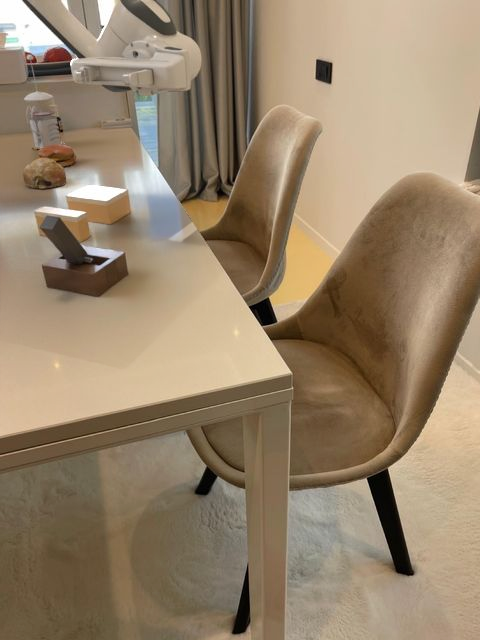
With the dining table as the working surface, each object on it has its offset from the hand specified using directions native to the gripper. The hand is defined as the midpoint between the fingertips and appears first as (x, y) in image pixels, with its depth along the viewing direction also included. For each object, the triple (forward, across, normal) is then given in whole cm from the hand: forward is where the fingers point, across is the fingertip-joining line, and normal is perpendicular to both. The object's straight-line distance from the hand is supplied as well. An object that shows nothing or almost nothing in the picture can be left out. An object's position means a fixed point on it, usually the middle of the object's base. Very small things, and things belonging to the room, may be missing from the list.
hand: (102, 78), depth 89 cm
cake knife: (+13, +1, +29) cm, 32 cm away
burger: (-44, -50, +29) cm, 72 cm away
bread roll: (-28, -41, +29) cm, 58 cm away
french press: (-58, -65, +29) cm, 92 cm away
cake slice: (-1, -15, +29) cm, 33 cm away
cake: (-13, -15, +29) cm, 35 cm away
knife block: (+14, +1, +29) cm, 32 cm away
